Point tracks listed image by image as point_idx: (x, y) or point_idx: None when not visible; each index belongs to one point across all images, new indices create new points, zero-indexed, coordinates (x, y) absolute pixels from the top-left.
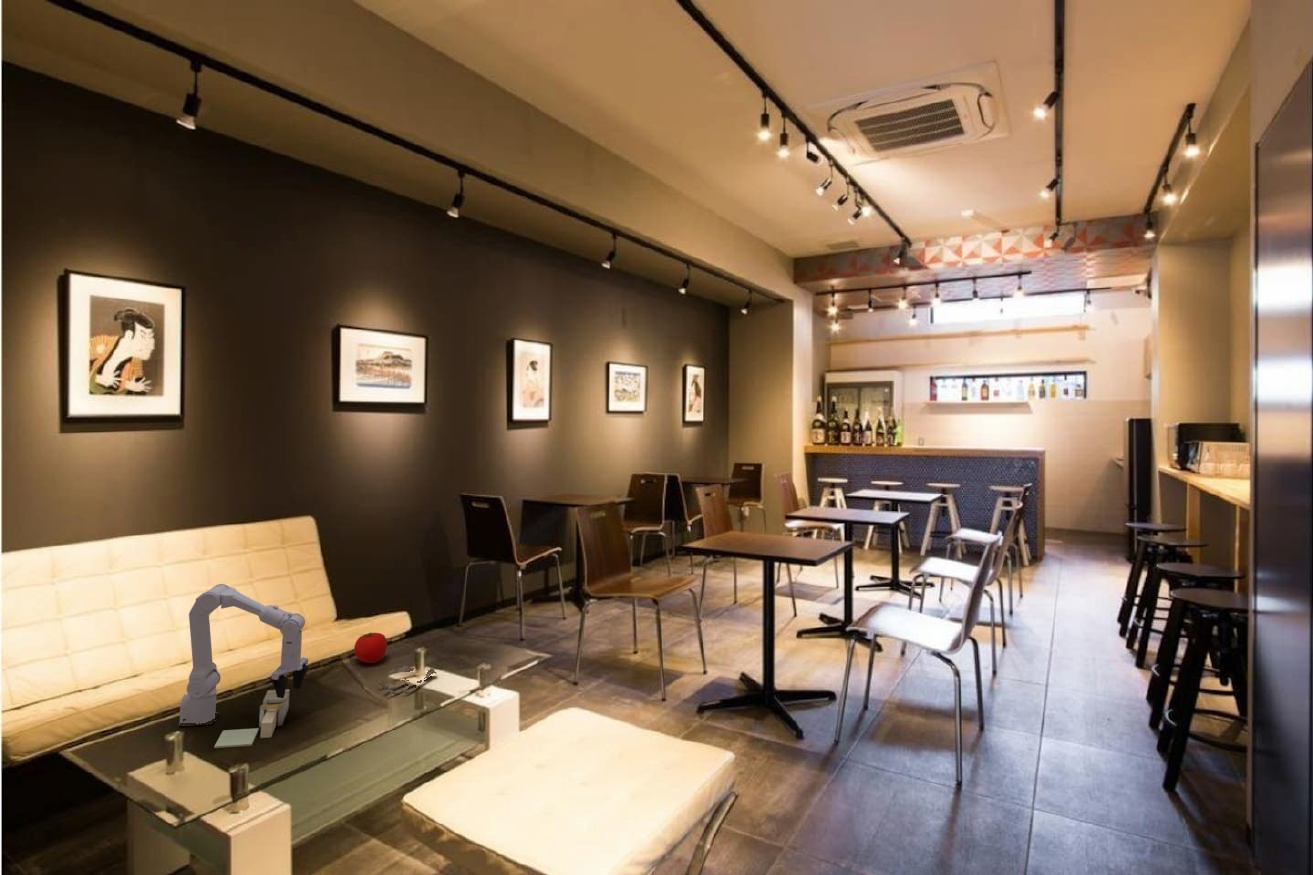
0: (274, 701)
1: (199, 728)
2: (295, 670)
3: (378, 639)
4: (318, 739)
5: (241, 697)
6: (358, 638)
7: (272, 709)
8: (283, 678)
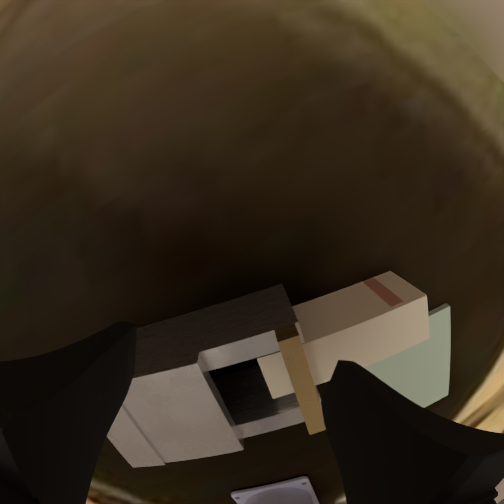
0: (223, 405)
1: (324, 483)
2: (70, 498)
3: None
4: (381, 60)
5: (110, 479)
6: None
7: (278, 375)
8: (466, 493)
